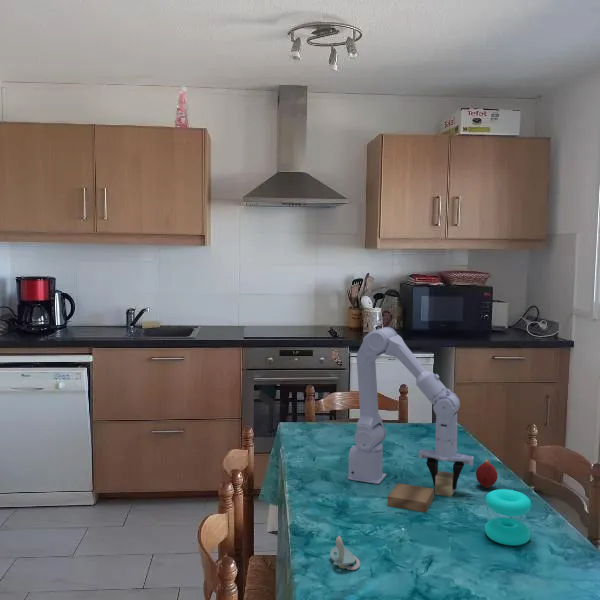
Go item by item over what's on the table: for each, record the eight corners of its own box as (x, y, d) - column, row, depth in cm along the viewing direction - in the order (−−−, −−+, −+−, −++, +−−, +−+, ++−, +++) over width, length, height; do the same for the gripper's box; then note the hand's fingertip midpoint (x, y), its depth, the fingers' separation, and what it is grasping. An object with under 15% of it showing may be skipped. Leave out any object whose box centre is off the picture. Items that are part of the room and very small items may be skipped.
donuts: (492, 484, 149) (535, 493, 144) (491, 524, 150) (534, 534, 144) (480, 498, 140) (526, 508, 135) (479, 540, 141) (524, 552, 136)
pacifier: (355, 555, 134) (328, 556, 134) (356, 527, 134) (329, 528, 133) (363, 573, 127) (335, 574, 126) (365, 543, 127) (336, 544, 126)
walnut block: (387, 507, 160) (387, 496, 160) (397, 493, 169) (397, 483, 169) (426, 514, 156) (426, 502, 156) (434, 499, 165) (434, 488, 165)
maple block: (435, 494, 168) (435, 476, 168) (438, 488, 172) (438, 470, 172) (451, 496, 166) (452, 478, 166) (454, 490, 170) (455, 473, 170)
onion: (498, 492, 169) (499, 464, 168) (476, 491, 170) (477, 462, 170) (495, 485, 175) (496, 457, 174) (474, 483, 176) (475, 455, 175)
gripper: (416, 438, 167) (415, 487, 168) (471, 445, 161) (470, 496, 162) (422, 431, 174) (421, 479, 175) (475, 438, 168) (473, 487, 169)
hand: (445, 486), depth 169 cm, fingers closed on maple block, 4 cm apart
